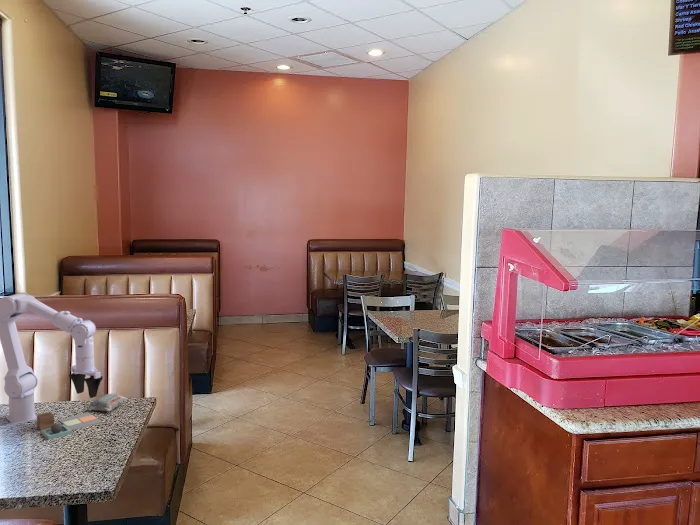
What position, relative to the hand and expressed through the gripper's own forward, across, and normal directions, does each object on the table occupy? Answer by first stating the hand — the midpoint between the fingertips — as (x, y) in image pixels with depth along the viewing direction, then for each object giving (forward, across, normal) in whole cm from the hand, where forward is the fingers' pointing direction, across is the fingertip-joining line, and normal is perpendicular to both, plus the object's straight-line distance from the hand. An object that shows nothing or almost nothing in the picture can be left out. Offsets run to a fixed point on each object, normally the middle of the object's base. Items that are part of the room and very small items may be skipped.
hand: (86, 394), depth 191 cm
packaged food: (+10, -4, +11) cm, 16 cm away
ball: (+9, +2, -12) cm, 15 cm away
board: (+9, 0, -2) cm, 10 cm away
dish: (+9, +2, -12) cm, 16 cm away
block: (+10, -5, -12) cm, 16 cm away
